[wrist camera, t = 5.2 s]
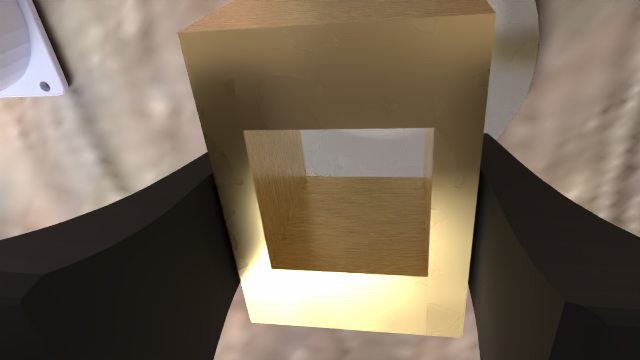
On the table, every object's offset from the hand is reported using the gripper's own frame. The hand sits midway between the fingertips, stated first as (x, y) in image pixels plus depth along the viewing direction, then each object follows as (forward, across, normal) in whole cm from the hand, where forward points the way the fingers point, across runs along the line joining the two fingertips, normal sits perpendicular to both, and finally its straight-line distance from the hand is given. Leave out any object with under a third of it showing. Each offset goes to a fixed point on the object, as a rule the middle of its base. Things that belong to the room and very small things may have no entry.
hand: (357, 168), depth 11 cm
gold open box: (+1, 0, -1) cm, 1 cm away
